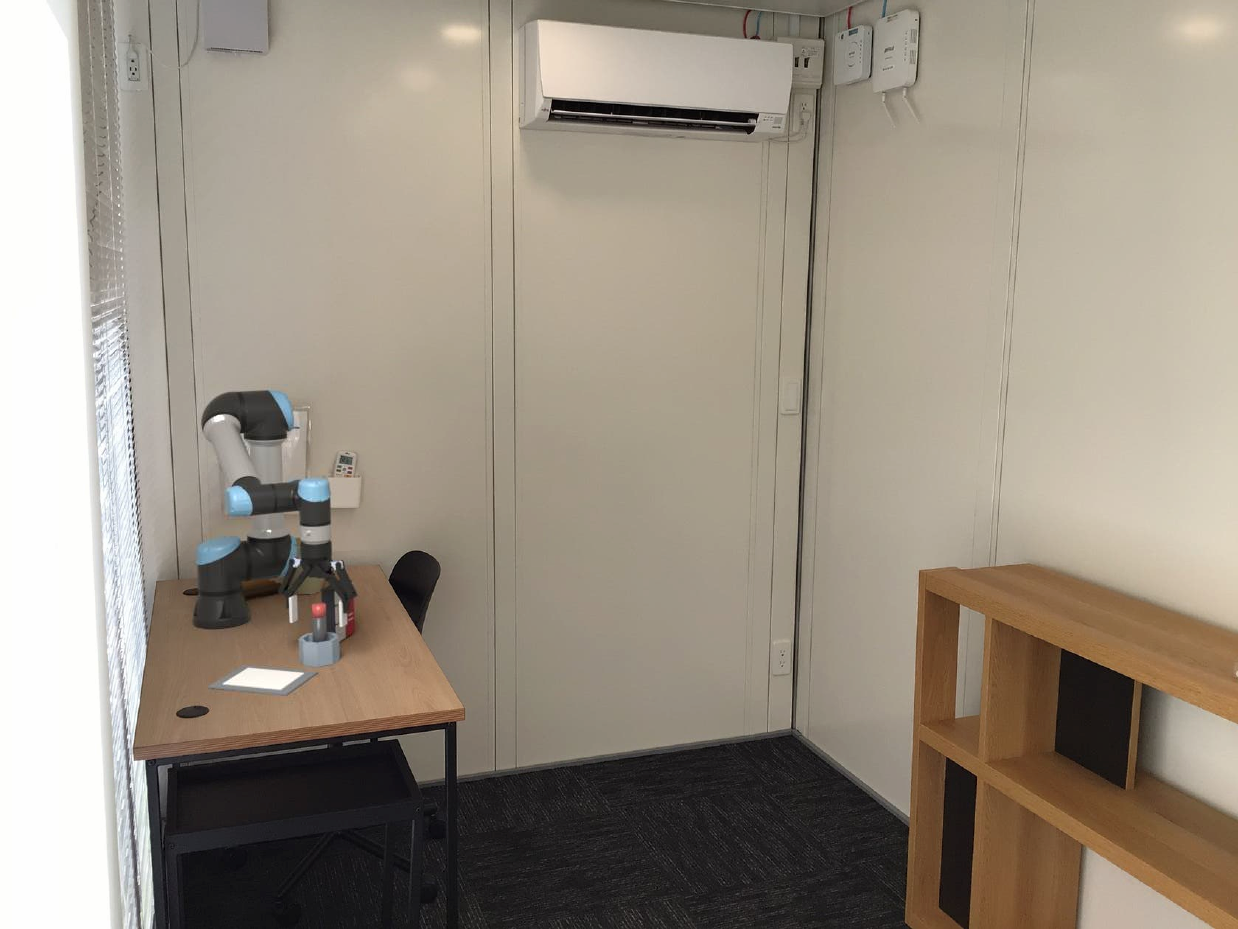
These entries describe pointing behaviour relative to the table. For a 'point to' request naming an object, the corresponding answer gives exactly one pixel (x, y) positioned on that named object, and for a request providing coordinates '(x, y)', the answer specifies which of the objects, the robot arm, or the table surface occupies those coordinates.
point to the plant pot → (309, 583)
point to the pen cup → (319, 650)
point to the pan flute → (259, 588)
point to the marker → (319, 622)
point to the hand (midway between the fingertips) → (318, 623)
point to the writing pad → (264, 680)
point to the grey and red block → (337, 613)
